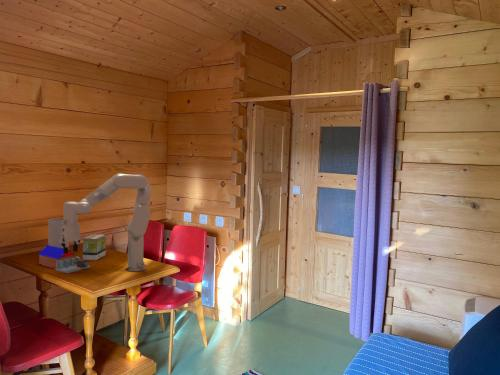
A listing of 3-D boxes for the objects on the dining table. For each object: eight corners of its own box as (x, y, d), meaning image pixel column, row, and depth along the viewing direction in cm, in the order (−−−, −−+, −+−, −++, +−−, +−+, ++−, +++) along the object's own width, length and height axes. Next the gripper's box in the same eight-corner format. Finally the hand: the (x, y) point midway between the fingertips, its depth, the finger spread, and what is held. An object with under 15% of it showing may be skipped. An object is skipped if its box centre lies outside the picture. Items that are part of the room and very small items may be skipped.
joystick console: (90, 267, 244) (90, 258, 243) (67, 273, 230) (67, 264, 229) (78, 264, 249) (78, 256, 248) (55, 270, 235) (55, 261, 234)
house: (56, 261, 257) (55, 243, 256) (76, 265, 247) (76, 247, 246) (38, 265, 246) (38, 246, 245) (58, 270, 237) (58, 251, 236)
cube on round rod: (89, 266, 241) (89, 260, 241) (84, 268, 237) (84, 261, 237) (78, 264, 246) (78, 258, 246) (72, 265, 242) (72, 259, 242)
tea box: (97, 260, 260) (97, 238, 259) (82, 260, 261) (82, 238, 260) (106, 255, 275) (106, 234, 274) (91, 254, 276) (91, 233, 275)
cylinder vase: (48, 254, 273) (48, 218, 272) (67, 252, 279) (67, 217, 277) (48, 258, 262) (48, 221, 261) (69, 256, 268) (69, 220, 266)
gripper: (61, 224, 223) (61, 256, 224) (87, 221, 238) (87, 250, 239) (53, 223, 227) (53, 254, 228) (78, 220, 242) (78, 248, 243)
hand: (70, 252), depth 233 cm, fingers open, 5 cm apart
